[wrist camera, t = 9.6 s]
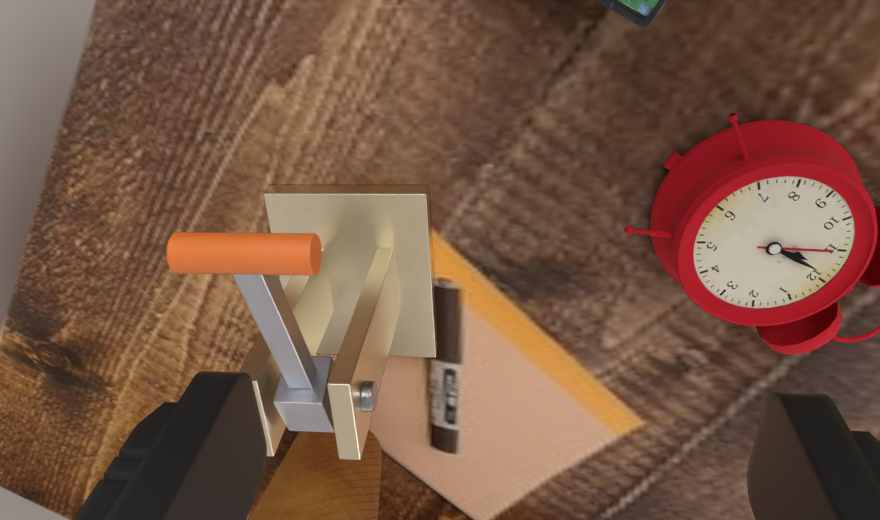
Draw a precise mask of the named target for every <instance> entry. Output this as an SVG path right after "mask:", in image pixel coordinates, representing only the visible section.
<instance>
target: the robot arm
mask: <svg viewBox="0 0 880 520" xmlns="http://www.w3.org/2000/svg"><path fill="white" fill-rule="evenodd" d="M266 459H267V445H266V438H265V434H264V430H263V425H262V421H261V417H260V413H259V408H258V404H257V400H256V396H255V391H254V387H253V383H252V380H251V378H250V376H249V375H248V374H247V373H238V372H209V371H202V372H199V373H197V374H196V375H195V376H194V378H193V379H192V381H191V382H190V384H189V386H188V387H187V389H186V390H185V392H184V394H183V395H182V397H181V398H180V400H179V402H178V403H173V402H164V403H163V404H162V405H161V406H160V407H158V408H157V409H156V410H155V411H153V412H152V413H151V414H150V415H148V416H147V417H146V418H145V419H144V420H142V421H141V422H140V423H139V424H137V426H136V427H135V429H134V430H133V432H132V433H131V434H130V436H129V437H128V439H127V440H126V442H125V443H124V445H123V446H122V448H121V449H120V451H119V456H118V457H115V458H114V460H113V461H112V463H111V464H110V466H109V467H108V469H107V470H106V472H105V473H104V479H103V480H100V481H99V482H98V484H97V485H96V487H95V488H94V489H93V491H92V492H91V494H90V495H89V497H88V498H87V500H86V501H85V503H84V504H83V506H82V507H81V509H80V510H79V512H78V513H77V515H76V516H75V518H74V519H73V520H246V518H247V515H248V513H249V510H250V508H251V506H252V503H253V501H254V498H255V496H256V494H257V491H258V489H259V486H260V484H261V481H262V479H263V475H264V471H265V466H266ZM747 484H748V494H749V500H750V504H751V507H752V510H753V513H754V516H755V519H756V520H880V441H879V440H877V439H876V438H875V437H874V436H873V435H872V434H870V433H869V432H862V431H850V430H849V428H848V426H847V424H846V423H845V421H844V419H843V417H842V416H841V414H840V412H839V410H838V409H837V407H836V405H835V404H834V402H833V400H832V399H831V398H830V397H829V396H827V395H825V394H806V393H777V392H773V393H770V394H769V395H768V396H767V398H766V400H765V403H764V406H763V410H762V414H761V418H760V422H759V426H758V429H757V433H756V437H755V441H754V445H753V449H752V452H751V456H750V460H749V464H748V472H747Z"/></svg>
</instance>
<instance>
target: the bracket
mask: <svg viewBox="0 0 880 520" xmlns="http://www.w3.org/2000/svg"><path fill="white" fill-rule="evenodd" d="M264 199H265V205H266V210H267V215H268V220H269V226H270V231H271V233H315V234H317V235H318V236H319V238H320V241H321V247H322V261H321V267H320V270H319V273H318V274H317V275H315V276H300V275H279V278H280V283H281V285H282V288H283V290H284V292H285V295H286V297H287V299H288V302H289V304H290V307H291V309H292V311H293V314H294V316H295V319H296V321H297V323H298V326H299V328H300V331H301V333H302V335H303V338H304V340H305V342H306V345H307V347H308V350H309V352H310V354H311V356H315V355H316V354H333V355H338V356H337V359H336V361H335V364H334V367H333V370H332V372H331V375H330V378H329V380H328V383H327V387H328V393H329V399H330V405H331V411H332V417H333V423H334V430H335V436H336V442H337V448H338V454H339V459H347V460H360V459H361V456H362V452H363V448H364V445H365V441H366V437H367V433H368V430H369V426H370V422H371V418H372V414H373V412H374V411H375V408H376V404H377V396H378V392H379V388H380V384H381V381H382V377H383V373H384V369H385V365H386V362H387V358H388V356H402V357H436V354H437V348H438V338H437V320H436V303H435V285H434V267H433V249H432V232H431V214H430V196H429V185H270V186H269V187H268V189H267V190H266V191H265V192H264ZM239 373H247V374H248V375H249V376H250V378H251V380H252V383H253V387H254V391H255V396H256V400H257V404H258V408H259V413H260V417H261V421H262V425H263V430H264V434H265V438H266V445H267V456H274V454H275V452H276V450H277V447H278V445H279V442H280V440H281V437H282V435H283V433H284V430H285V428H286V425H285V423H284V421H283V419H282V418H281V416H280V414H279V412H278V410H277V409H276V407H275V405H274V403H273V401H274V397H275V393H276V389H277V385H278V381H279V377H280V374H281V372H280V370H279V368H278V366H277V364H276V362H275V360H274V358H273V356H272V354H271V352H270V350H269V348H268V346H267V344H266V342H265V340H264V338H263V336H262V334H261V333H260V335H259V337H258V339H257V341H256V343H255V344H254V346H253V348H252V350H251V352H250V354H249V355H248V357H247V359H246V361H245V363H244V365H243V366H242V368H241V370H240V372H239Z"/></svg>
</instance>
